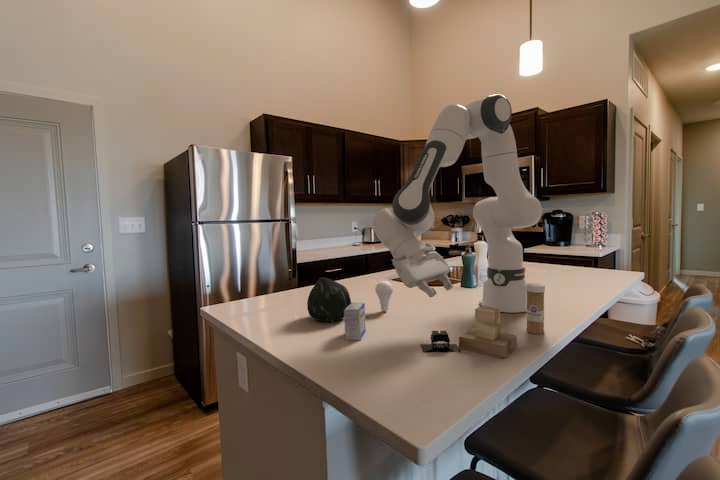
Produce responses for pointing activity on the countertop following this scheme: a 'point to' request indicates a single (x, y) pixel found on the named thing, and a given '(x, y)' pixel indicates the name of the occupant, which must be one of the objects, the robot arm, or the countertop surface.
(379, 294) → the lightbulb
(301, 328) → the countertop surface
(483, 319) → the oak block
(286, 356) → the countertop surface
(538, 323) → the sprinkles bottle
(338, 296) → the squash
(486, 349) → the walnut base block
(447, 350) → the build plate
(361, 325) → the medicine box
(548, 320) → the countertop surface
